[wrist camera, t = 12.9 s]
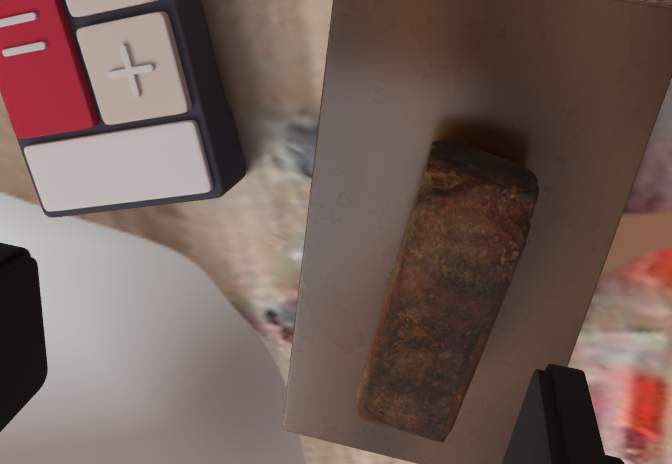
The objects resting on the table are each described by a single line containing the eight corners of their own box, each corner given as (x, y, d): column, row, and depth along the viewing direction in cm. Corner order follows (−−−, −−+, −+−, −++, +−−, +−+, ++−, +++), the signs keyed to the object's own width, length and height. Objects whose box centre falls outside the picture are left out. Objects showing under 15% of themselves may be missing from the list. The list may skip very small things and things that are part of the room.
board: (289, 410, 33) (281, 430, 32) (345, -44, 24) (338, -43, 22) (521, 467, 32) (523, 490, 31) (683, 7, 22) (696, 12, 21)
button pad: (133, -133, 27) (220, 202, 32) (177, -119, 31) (248, 177, 36) (-74, -75, 30) (35, 224, 35) (-10, -70, 34) (80, 198, 39)
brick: (452, 376, 29) (448, 451, 25) (367, 350, 29) (348, 420, 25) (536, 158, 24) (548, 205, 20) (433, 130, 24) (424, 170, 20)
